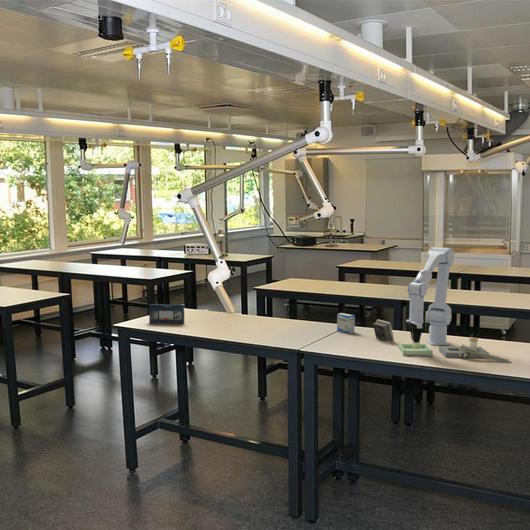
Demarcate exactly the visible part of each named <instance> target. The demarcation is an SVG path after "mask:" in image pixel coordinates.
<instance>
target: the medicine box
mask: <svg viewBox="0 0 530 530" xmlns="http://www.w3.org/2000/svg"><path fill="white" fill-rule="evenodd" d="M336 317H337V318H336V331H337V332H340V333H347V334H353V333H355V326H356V325H355V321H356V316H355V315H354V314H348V313H344V312H340V313H337V316H336Z"/></svg>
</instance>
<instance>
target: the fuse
mask: <svg viewBox="0 0 530 530" xmlns="http://www.w3.org/2000/svg"><path fill="white" fill-rule="evenodd" d="M468 339H469V344H468V345H469V346H468V347H469V348H471V349H475V350H477V347H478V341H479V337H471V336H469V338H468Z"/></svg>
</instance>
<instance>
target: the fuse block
mask: <svg viewBox="0 0 530 530" xmlns="http://www.w3.org/2000/svg"><path fill="white" fill-rule="evenodd" d="M461 346H462V345H461ZM461 346H459V345H458V346H456V345H455V346H454V345H453V346H451V345H450V346H449V345H438V352H440V353H441V355H442V356H444V358H459V349H460V347H461ZM465 348H469V346H466V347H465ZM477 350H478V352H482V353H486V354H490V353H489V352H488V351H487V350H485V348H483V347H482V346H477ZM464 354H465V352H463V351H462V354H461V356H460V357H464ZM466 357H475V356H472V355H470V354H468V355H467V356H466ZM476 357H482V356H478V355H476ZM482 359H487V358H486V357H482Z"/></svg>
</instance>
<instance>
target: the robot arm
mask: <svg viewBox="0 0 530 530" xmlns="http://www.w3.org/2000/svg"><path fill="white" fill-rule="evenodd" d="M454 256H455V252H454V250H453V248H452V247H439V246H438V247H435V246H430V248H429V249H428V251H427V258H428V259H427V261H426V263H425V266H424V268H423V269H420V271H419V272H418V273H417V275H416V277H415V278H414V280H413V281H411V282H410V283H409V284H408V287H407V294H408V299H409V317H408V319H406V323H407V326H408V328H409V331H410V338H411V339H412V333H413V341H414V343H419V341H420V342H421V336H422V335H423V332H424V331H425V326H423V323H424V309H425V307H424V304H425V303H424V301H425V300H424V299H425V296H426V295H427V292H428V291H427V290H428V285H429V283H430V282H431V280H432V277H433V274H432V273H433V271H434V270H435V269H436V268H437V276H436V285H435V293H434V302H433V303H431V304H429V306H428V310H427V312H426V320H427V321H428V323H429V324H430V325H429V328H428V338H426V341H427V342H428V343H429V344H430V345H432V346H449V345H450V344H449V342H447V335H448V334H447V333H448V332H447V329H448V325H449V324H450V323H451V322H452V317H453V316H452V308H451V307H450V306H449V304H447V297H448V296H447V295H448V284H449V276H450V267H453V264H454V260H455V259H454Z"/></svg>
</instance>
